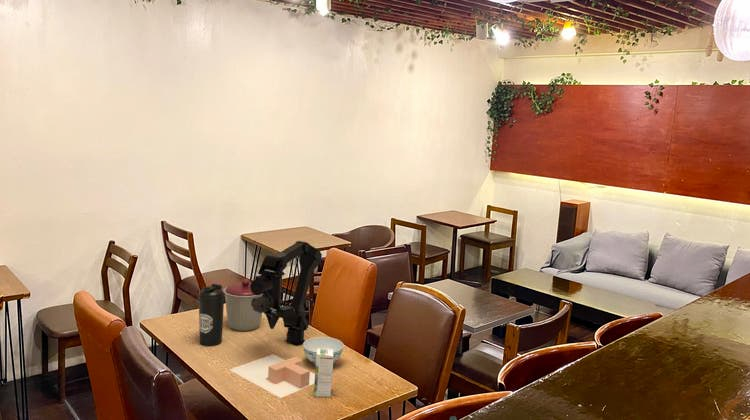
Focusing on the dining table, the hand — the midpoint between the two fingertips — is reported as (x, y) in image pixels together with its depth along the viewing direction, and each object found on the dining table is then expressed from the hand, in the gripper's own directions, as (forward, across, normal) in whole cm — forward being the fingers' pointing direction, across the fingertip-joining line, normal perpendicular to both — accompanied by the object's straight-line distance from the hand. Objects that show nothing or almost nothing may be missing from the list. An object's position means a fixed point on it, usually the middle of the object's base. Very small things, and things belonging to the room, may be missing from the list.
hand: (271, 328), depth 213 cm
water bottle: (+11, -26, -9) cm, 30 cm away
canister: (+11, -31, +11) cm, 35 cm away
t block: (+10, +22, -8) cm, 25 cm away
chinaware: (+11, +18, +10) cm, 23 cm away
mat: (+11, +14, -9) cm, 20 cm away
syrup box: (+11, +34, -6) cm, 36 cm away
